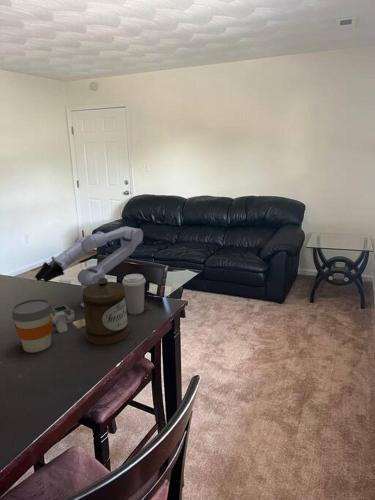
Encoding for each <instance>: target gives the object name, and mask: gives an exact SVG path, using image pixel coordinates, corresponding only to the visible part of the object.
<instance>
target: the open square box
mask: <svg viewBox="0 0 375 500" xmlns="http://www.w3.org/2000/svg"><path fill="white" fill-rule="evenodd" d="M51 308H52V314H53V315H54V316H55V313H58V312H61V311H63V312H64V313H65V314H67V315H68V314H71V310H70V309H71V308H70V307H69V306H67V304H62V305H59V306H55V307H51Z"/></svg>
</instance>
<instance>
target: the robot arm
mask: <svg viewBox="0 0 375 500" xmlns="http://www.w3.org/2000/svg"><path fill="white" fill-rule="evenodd" d="M117 239H120V245H121V246H120V247H119V248H117V249H116V250H115V251H113V252H112V253H111V254H109V255H108V256H107V257H106V258H104V259H103V260H100V262H98V264H96V265H92V266H88V267H87V268H84V269H81V270H80V271H79V272H78V274H77V282H79V283H80V286H81V292H82V293H81V294H82V295H83V289H84V288H85V287H87V286H89V285H91V284H94V283H98V280H99V279H100V278H106V275H107V274H108V273H109V272H110V271H111V270H113V269H114V268H115V267H117V266H118V265H119V264H120V263H122V262H124V260H126V258H128V257H130V255H132V254H133V253H134V252H135V250H136V249H137V246H138V245H140V243H142V242H143V239H144V233H143V230H142V229H141V228H135V227H131V226H126V225H125V226H121V227H119V228H116V229H114V230H111V231H109V232H106V233H104V232H103V231H96V232H95V233H93V234H87V235H86V236H80V237H76V238H75V240H74V243H73V244H72V245H71V246H69V247H68V248H66V249H65V250H64V251H63V252H61V253H60V254H59V255H57V256H56V257H55V256H51V257H50V259H51V261H50V262H49V263H47V262H45V261H44V262H43V264H42V266H41V268H40V269H39V271H38V272H37V273H36V274H35V275H34V279H36V282H37V281H41V280H43V281H44V282H45V283H46V282H47V283H48V282H49V281H51V280H53V279H55V278H58V277H61V276H64V275H65V272H64V271H65V270H67V269H68V268H69V266H71V265H72V264H74V263H75V262H76V261H77V260H79V258H80V257H83V255H84V254H85V253H91V252H93V251H94V250H95V249H96V248H99V247H102V246H105V245H107V244H108V242H109V241H113V240H117ZM80 306H81V307H82V308H84V302H83V303H80Z"/></svg>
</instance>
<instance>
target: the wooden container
mask: <svg viewBox="0 0 375 500" xmlns="http://www.w3.org/2000/svg"><path fill="white" fill-rule="evenodd" d="M82 301H83V302H84V307H83V310H84V318H85V326H86V327H85V332H86V339H87V341H88V342H89V343H91V344H94V345H100V346H102V345H105V346H106V345H112V344H115V343H119V342H120V341H122V340H125V338H126V337H127V336H128V333H129V329H128V327H129V326H128V313H127V312H128V310H127V302H126V296H125V289H124V285H123V284H122V282H117V281H109V280H108V279H107V278H106V277H105V278H100V279H99V280H98V283H94V284H91V285H89V286H87V287H85V288H84V289H83V294H82Z"/></svg>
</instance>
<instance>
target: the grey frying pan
mask: <svg viewBox="0 0 375 500" xmlns="http://www.w3.org/2000/svg"><path fill="white" fill-rule="evenodd" d="M70 310H71V314H68V318H66V322H67V325H69V324H70V323H71V324H72V322H75V321H76V320H75V319H76V314H75V310H74V309H71V308H70ZM51 316H52V326H56V321H53V318H55V316H54V315H53V314H52V312H51ZM56 327H57V326H56Z"/></svg>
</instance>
